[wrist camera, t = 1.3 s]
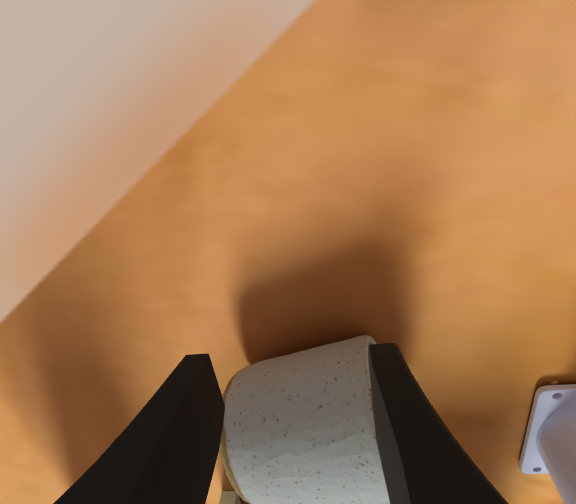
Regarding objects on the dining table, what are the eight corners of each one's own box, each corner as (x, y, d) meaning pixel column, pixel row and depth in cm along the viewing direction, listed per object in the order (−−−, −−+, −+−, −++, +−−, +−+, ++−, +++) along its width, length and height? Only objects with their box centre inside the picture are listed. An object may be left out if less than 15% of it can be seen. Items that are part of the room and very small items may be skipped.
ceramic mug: (224, 342, 24) (189, 473, 17) (361, 303, 22) (380, 435, 15) (295, 448, 29) (289, 581, 22) (412, 424, 26) (443, 563, 20)
